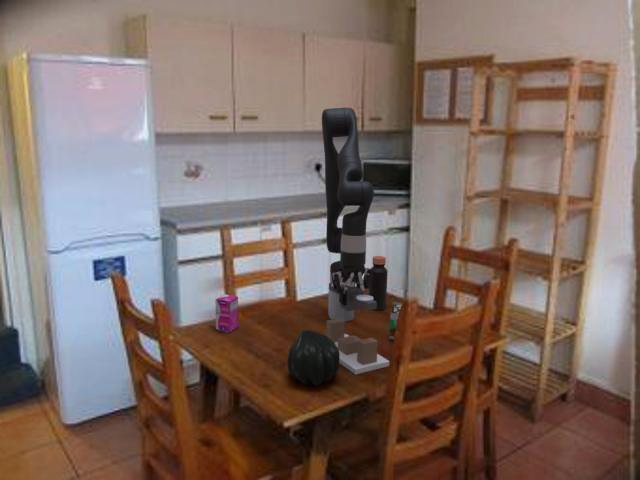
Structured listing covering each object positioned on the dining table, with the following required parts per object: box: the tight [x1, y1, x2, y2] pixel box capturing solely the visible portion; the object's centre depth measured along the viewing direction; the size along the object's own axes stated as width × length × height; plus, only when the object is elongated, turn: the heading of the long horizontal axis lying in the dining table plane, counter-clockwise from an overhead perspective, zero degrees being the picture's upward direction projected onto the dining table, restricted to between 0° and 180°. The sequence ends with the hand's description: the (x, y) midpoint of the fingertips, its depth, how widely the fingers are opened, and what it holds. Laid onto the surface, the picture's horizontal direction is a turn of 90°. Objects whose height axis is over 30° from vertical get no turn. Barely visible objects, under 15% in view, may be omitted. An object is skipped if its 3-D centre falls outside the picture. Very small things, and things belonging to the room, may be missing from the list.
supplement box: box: [214, 293, 239, 334], centre depth 191 cm, size 6×6×12 cm
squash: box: [286, 329, 340, 386], centre depth 156 cm, size 14×15×15 cm
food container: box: [388, 301, 403, 342], centre depth 188 cm, size 12×6×10 cm, turn 168°
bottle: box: [368, 255, 388, 311], centre depth 214 cm, size 7×7×20 cm
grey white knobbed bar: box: [328, 282, 377, 311], centre depth 169 cm, size 22×5×6 cm, turn 30°
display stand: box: [325, 318, 390, 375], centre depth 172 cm, size 24×12×8 cm, turn 30°
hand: (351, 303), depth 170 cm, fingers closed on grey white knobbed bar, 5 cm apart
